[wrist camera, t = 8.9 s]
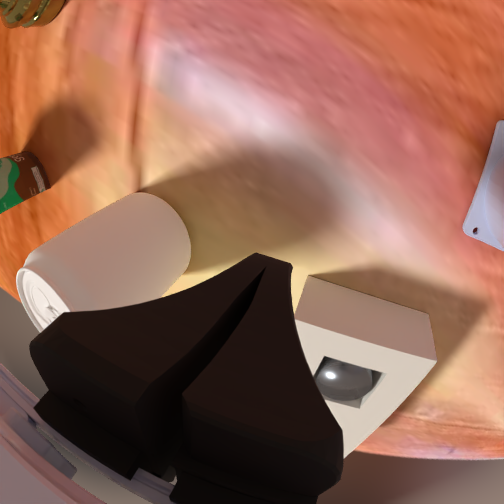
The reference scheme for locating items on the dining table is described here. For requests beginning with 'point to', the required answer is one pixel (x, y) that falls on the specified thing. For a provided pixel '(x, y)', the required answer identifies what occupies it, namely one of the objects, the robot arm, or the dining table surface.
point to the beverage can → (106, 260)
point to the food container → (20, 179)
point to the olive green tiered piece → (28, 12)
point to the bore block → (364, 350)
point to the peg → (343, 380)
